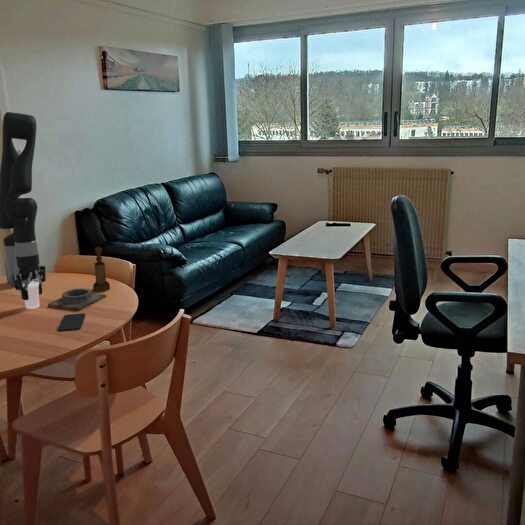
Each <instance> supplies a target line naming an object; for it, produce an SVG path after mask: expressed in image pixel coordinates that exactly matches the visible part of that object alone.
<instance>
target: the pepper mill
mask: <svg viewBox="0 0 525 525" xmlns="http://www.w3.org/2000/svg"><path fill="white" fill-rule="evenodd" d="M93 250H94V254H95V255H96V257H95V259H96V262H95V263H94V272H95V275H94V276H95V282H94V283H93V284H92V289H93V290H92V291H94V292H96V291H98V292H97V293H101V292H100V291H104V292H107V291H106V290H108V291H110V289H111V285H110V282H109V281H107V276H106V275H107V274H106V264H105V262H104V261H102V260H103V256H102V253H103V248H102V247H101V246H95V248H94V249H93Z"/></svg>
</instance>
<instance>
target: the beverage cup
mask: <svg viewBox="0 0 525 525" xmlns="http://www.w3.org/2000/svg"><path fill="white" fill-rule="evenodd" d="M24 285H25V284H24ZM38 286H39V282H34V281H32V282H30V284H29V285H28V288H27V290H28V296H29V300H24V304H25V309H27V310H34V309H37V308H39V307H40V295H39V288H38ZM23 287H24V286H23Z"/></svg>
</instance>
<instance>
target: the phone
mask: <svg viewBox="0 0 525 525" xmlns="http://www.w3.org/2000/svg"><path fill="white" fill-rule="evenodd" d="M85 315H86V313H70V314H64V315H63V317H62V319H61V320H60V323H59V326H58V327H57V331H58V332H68V331H69V332H71V331H80V330H81V329H82V326H83V324H84V321H85V318H86V316H85Z"/></svg>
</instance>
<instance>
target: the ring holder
mask: <svg viewBox="0 0 525 525" xmlns="http://www.w3.org/2000/svg"><path fill="white" fill-rule="evenodd" d="M105 297H106V298H107V294H104V293H98V292H97V293H95V292H93V290H91V289H89V288H73V289H69V290H67V291H63V293H62V294H61V297H60V298H58V299H55V300H54V301H53V300H52V301H50V302H49V303H47V306H48V308H55V309H61V308H62V309H63V310H68V309H69V310H71V311H75V310H77V311H76V312H80V311H82V310H84V309H86V308H88V307H90V306H92V305H94V304H96V303H98V302H100V301H102V300H104V299H106V298H105ZM103 298H104V299H103ZM101 299H102V300H101ZM99 300H100V301H99ZM97 301H98V302H97ZM95 302H96V303H95ZM91 304H92V305H91ZM89 305H90V306H89ZM87 306H88V307H87ZM85 307H86V308H85ZM83 308H84V309H83ZM69 310H68V311H69Z"/></svg>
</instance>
